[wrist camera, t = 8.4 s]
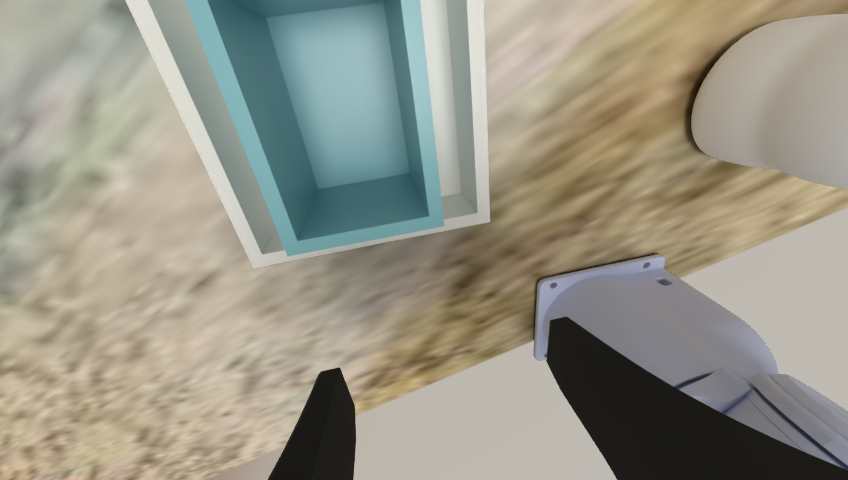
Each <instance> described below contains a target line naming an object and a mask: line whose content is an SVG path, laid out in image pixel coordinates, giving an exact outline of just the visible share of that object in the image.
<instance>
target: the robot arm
mask: <svg viewBox="0 0 848 480" xmlns="http://www.w3.org/2000/svg"><path fill="white" fill-rule="evenodd" d="M664 264H665V257H663V256H662V255H660V254H656V255H652V256H647V257H642V258H638V259H633V260H628V261H624V262H619V263H614V264H610V265H605V266H600V267H596V268H591V269H586V270H581V271H577V272H572V273H567V274H563V275H558V276H553V277H549V278H544V279H542V280H540V281H539V283H538V285H537V302H536V320H535V337H534V357H535V359H536V360H545V359H547V360H546V361H547V363H548V365H549V367H550V369H551V371H552V374H553V376H554V378H555V379H556V381H557V383H558V385H559V387H560V389H561V391H562V393H563V394H564V396H565V397H566V399H567V400H568V402H569V404H570V405H571V407H572V408H573V410H574V412H575V413H576V414H577V416H578V418H579V419H580V421H581V422H582V424H583V425H584V427H585V429H586V430H587V431H588V433H589V435H590V436H591V438H592V439H593V441H594V442H595V444H596V446H597V447H598V449H599V450H600V452H601V453H602V455H603V456H604V458H605V460H606V461H607V463H608V465H609V466H610V468H611V470H612V471H613V473H614V475H615V476H616V478H617V480H848V411H846V410H845V409H843V408H842V407H840V406H839V405H837V404H836V403H834V402H833V401H831V400H830V399H828V398H826V397H825V396H823V395H822V394H820V393H819V392H817V391H815V390H814V389H812V388H811V387H809V386H807V385H805V384H804V383H802V382H800V381H798V380H797V379H795V378H793V377H791V376H789V375H785V374H778V369H777V364H776V362H775V359H774V357H773V355H772V353H771V351H770V349H769V348H768V346H767V345H766V344H765V342H764V341H763V340H762V338H761V337H760V336H759V335H758V334H757V333H756V332H755V331H754V329H752V328H751V327H750V326H749V325H748V324H747V323H746V322H744V321H743V320H741V319H740V318H739V317H737V316H736V315H734V314H733V313H731V312H730V311H728V310H727V309H725V308H724V307H722V306H721V305H719V304H717V303H716V302H714V301H713V300H711V299H710V298H708V297H707V296H705V295H704V294H702V293H700V292H699V291H697V290H696V289H694V288H693V287H691V286H690V285H688V284H687V283H685V282H684V281H682V280H681V279H679V278H678V277H676V276H675V275H673V274H672V273H670V272H668V271H667V270H665V269H664ZM552 283H553V284H552ZM551 284H552V285H551ZM355 445H356V427H355V406H354V403H353V400H352V398H351V395H350V393H349V390H348V388H347V385H346V382H345V380H344V377H343V375H342V372H341V369H340V368H335V369H331V370H326V371H322V372H320V374H319V375H318V377H317V379H316V382H315V384H314V387H313V389H312V391H311V394H310V396H309V398H308V400H307V403H306V405H305V407H304V409H303V411H302V414H301V416H300V418H299V420H298V422H297V424H296V426H295V428H294V430H293V432H292V434H291V436H290V438H289V440H288V442H287V445H286V446H285V449H284V450H283V452H282V454H281V457H280V458H279V460H278V462H277V463H276V465H275V467H274V469H273V471H272V473H271V475H270V476H269V478H268V480H353V475H354V461H355Z"/></svg>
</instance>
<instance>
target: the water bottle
mask: <svg viewBox="0 0 848 480" xmlns="http://www.w3.org/2000/svg"><path fill="white" fill-rule="evenodd" d="M691 128H692V134H693V137H694V140H695V142H696V144H697V146H698V147H699V149H700V150H701V151H703V152H704V153H705V154H706V155H708V156H710V157H712V158H715V159H718V160H722V161H726V162H730V163H735V164H740V165H745V166H750V167H757V168H765V169H775V170H779V171H781V172H784V173H786V174H789V175H791V176H794V177H797V178H800V179H803V180H807V181H811V182H815V183H819V184H823V185H827V186H833V187H838V188H844V189H848V14H832V15H819V16H808V17H799V18H792V19H785V20H780V21H776V22H772V23H769V24H766V25H764V26H761V27H759V28H757V29H755V30H753V31H752V32H750V33H748V34H747V35H745V36H744V37H742V38H741V39H740V40H738V41H737V42H736V43H735V44H734V45H732V46H731V47H730V48H729V49H728V50H727V51H726V52H725V53H724V54H723V55H722V56H721V57H720V58H719V60H718V61H717V62H716V63H715V64H714V66H713V67H712V68H711V70H710V71H709V73H708V74H707V76H706V78H705V79H704V81H703V83H702V85H701V87H700V89H699V91H698V93H697V96H696V99H695V102H694V105H693V110H692V117H691Z"/></svg>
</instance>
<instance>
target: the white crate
mask: <svg viewBox="0 0 848 480" xmlns="http://www.w3.org/2000/svg"><path fill="white" fill-rule="evenodd" d="M126 2H127V4H128V7H129V9H130V11H131V13H132V15H133V17H134V19H135V21H136V23H137V25H138V27H139V30H140V32H141V34H142V36H143V38H144V40H145V42H146V44H147V46H148V48H149V51H150V53H151V55H152V57H153V59H154V61H155V63H156V65H157V67H158V69H159V71H160V74H161V76H162V78H163V80H164V82H165V84H166V86H167V88H168V90H169V92H170V94H171V97H172V99H173V101H174V103H175V105H176V107H177V109H178V111H179V113H180V115H181V117H182V120H183V122H184V124H185V126H186V128H187V130H188V132H189V134H190V136H191V138H192V140H193V143H194V145H195V147H196V149H197V151H198V153H199V155H200V157H201V159H202V161H203V164H204V166H205V168H206V170H207V172H208V174H209V176H210V178H211V180H212V182H213V184H214V187H215V189H216V191H217V193H218V195H219V197H220V199H221V201H222V203H223V205H224V207H225V210H226V212H227V214H228V216H229V218H230V220H231V222H232V224H233V226H234V228H235V230H236V233H237V235H238V237H239V239H240V241H241V243H242V245H243V247H244V249H245V251H246V254H247V256H248V258H249V260H250V262H251V264H252V266H253V268H258V267H263V266H268V265H273V264H278V263H283V262H288V261H294V260H299V259H304V258H309V257H314V256H319V255H324V254H329V253H335V252H340V251H345V250H350V249H355V248H360V247H365V246H370V245H376V244H381V243H386V242H391V241H396V240H401V239H406V238H411V237H417V236H422V235H427V234H432V233H437V232H442V231H447V230H452V229H458V228H463V227H468V226H473V225H478V224H483V223H488V222H490V197H489V165H488V132H487V99H486V67H485V34H484V1H483V0H420V6H421V15H422V24H423V33H424V42H425V52H426V61H427V70H428V79H429V88H430V98H431V107H432V116H433V125H434V135H435V144H436V153H437V162H438V171H439V181H440V190H441V199H442V208H443V218H444V226H443V227H438V228H433V229H428V230H423V231H417V232H412V233H407V234H402V235H397V236H391V237H386V238H381V239H376V240H371V241H365V242H360V243H355V244H350V245H344V246H339V247H334V248H329V249H324V250H318V251H313V252H308V253H303V254H298V255H292V256H287V254H286V251H285V249H284V247H283V244H282V242H281V239H280V237H279V234H278V232H277V229H276V227H275V224H274V222H273V219H272V217H271V214H270V212H269V209H268V207H267V204H266V202H265V199H264V197H263V194H262V192H261V189H260V187H259V184H258V182H257V179H256V177H255V174H254V172H253V170H252V167H251V165H250V162H249V160H248V157H247V155H246V152H245V150H244V147H243V145H242V142H241V140H240V137H239V135H238V132H237V130H236V127H235V125H234V122H233V120H232V117H231V115H230V112H229V110H228V107H227V105H226V102H225V100H224V97H223V95H222V93H221V90H220V88H219V85H218V83H217V80H216V78H215V75H214V73H213V70H212V68H211V65H210V63H209V60H208V58H207V55H206V53H205V50H204V48H203V45H202V43H201V40H200V38H199V35H198V33H197V30H196V28H195V25H194V23H193V21H192V18H191V16H190V13H189V11H188V8H187V6H186V3H185V1H184V0H126Z"/></svg>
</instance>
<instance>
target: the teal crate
mask: <svg viewBox="0 0 848 480" xmlns="http://www.w3.org/2000/svg"><path fill="white" fill-rule="evenodd" d="M184 1H185V3H186V6H187V8H188V11H189V13H190V16H191V18H192V21H193V23H194V25H195V28H196V30H197V33H198V35H199V38H200V40H201V43H202V45H203V48H204V50H205V53H206V55H207V58H208V60H209V63H210V65H211V68H212V70H213V73H214V75H215V78H216V80H217V83H218V85H219V88H220V90H221V93H222V95H223V97H224V100H225V102H226V105H227V107H228V110H229V112H230V115H231V117H232V120H233V122H234V125H235V127H236V130H237V132H238V135H239V137H240V140H241V142H242V145H243V147H244V150H245V152H246V155H247V157H248V160H249V162H250V165H251V167H252V170H253V172H254V174H255V177H256V179H257V182H258V184H259V187H260V189H261V192H262V194H263V197H264V199H265V202H266V204H267V207H268V209H269V212H270V214H271V217H272V219H273V222H274V224H275V227H276V229H277V232H278V234H279V237H280V239H281V242H282V244H283V247H284V249H285V251H286V254H287V256H292V255H298V254H303V253H308V252H313V251H318V250H324V249H329V248H334V247H339V246H344V245H350V244H355V243H360V242H365V241H371V240H376V239H381V238H386V237H391V236H397V235H402V234H407V233H412V232H417V231H423V230H428V229H433V228H438V227H443V226H444V218H443V208H442V199H441V190H440V181H439V171H438V162H437V153H436V144H435V135H434V125H433V116H432V107H431V98H430V88H429V79H428V70H427V61H426V52H425V42H424V33H423V24H422V15H421V6H420V0H184Z"/></svg>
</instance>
